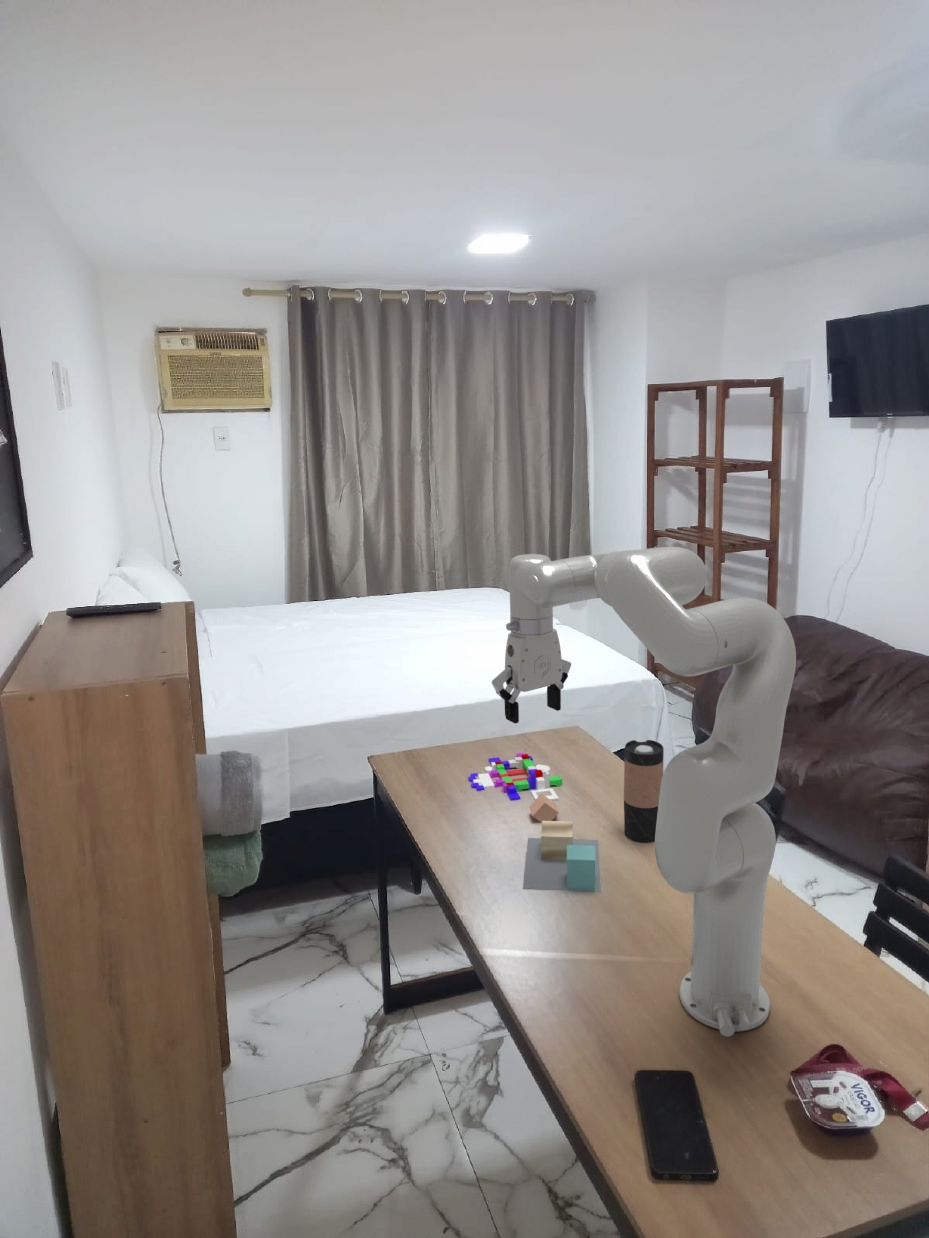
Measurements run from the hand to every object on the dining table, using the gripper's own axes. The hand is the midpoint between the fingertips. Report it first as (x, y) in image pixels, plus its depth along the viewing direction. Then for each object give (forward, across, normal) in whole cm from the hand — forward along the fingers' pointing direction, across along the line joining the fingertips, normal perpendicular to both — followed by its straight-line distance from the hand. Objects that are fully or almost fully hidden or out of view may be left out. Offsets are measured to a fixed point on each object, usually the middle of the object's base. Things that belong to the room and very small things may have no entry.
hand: (533, 714), depth 148 cm
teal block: (+30, +2, -10) cm, 32 cm away
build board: (+31, +4, -4) cm, 31 cm away
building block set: (+32, +19, +32) cm, 49 cm away
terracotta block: (+28, +13, +14) cm, 34 cm away
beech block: (+30, +5, 0) cm, 31 cm away
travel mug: (+31, +23, -5) cm, 39 cm away
